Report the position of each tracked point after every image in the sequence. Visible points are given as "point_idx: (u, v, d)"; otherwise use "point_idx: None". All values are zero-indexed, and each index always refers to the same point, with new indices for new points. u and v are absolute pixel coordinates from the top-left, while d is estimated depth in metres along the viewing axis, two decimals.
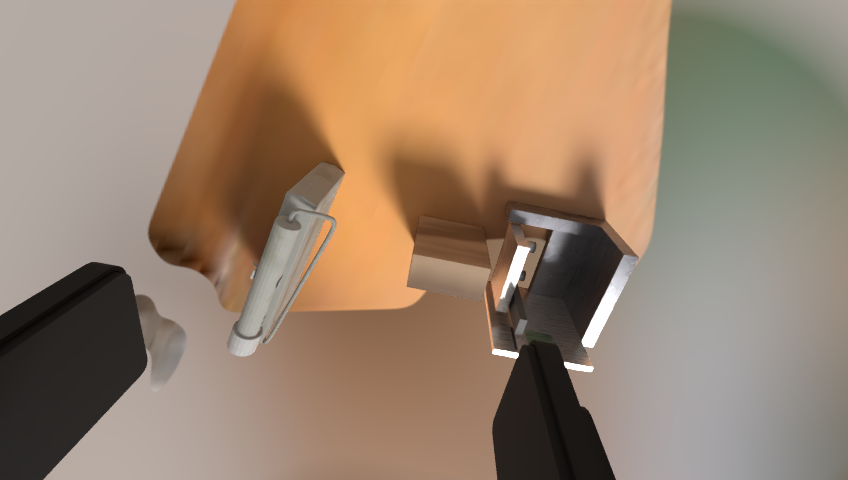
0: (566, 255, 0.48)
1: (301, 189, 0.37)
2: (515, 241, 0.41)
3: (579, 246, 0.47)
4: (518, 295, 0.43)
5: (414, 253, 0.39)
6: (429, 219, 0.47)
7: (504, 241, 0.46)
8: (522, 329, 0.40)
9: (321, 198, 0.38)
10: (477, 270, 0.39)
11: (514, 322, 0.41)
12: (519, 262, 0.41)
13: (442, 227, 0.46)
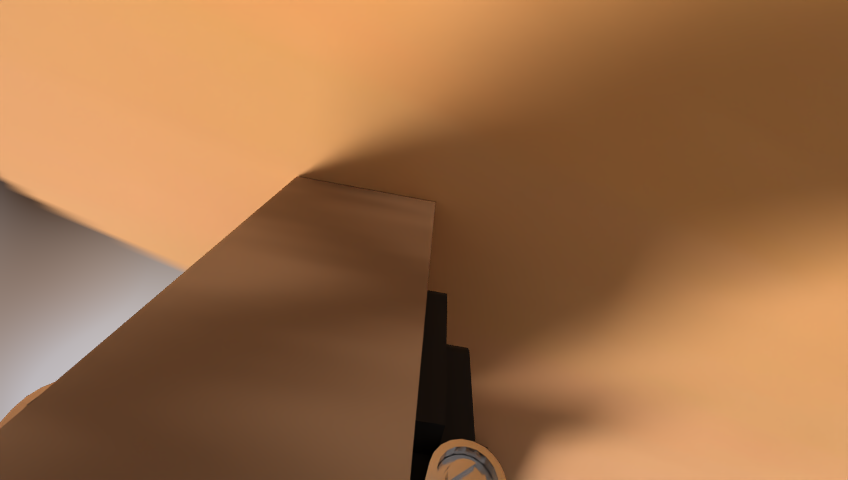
0: None
1: None
2: None
3: None
4: None
5: None
6: None
7: None
8: None
9: None
10: None
11: None
12: None
13: None
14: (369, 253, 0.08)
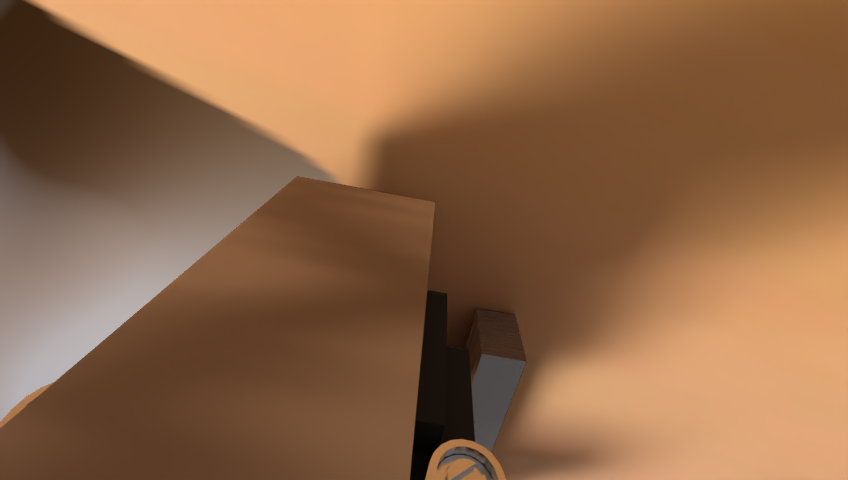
0: None
1: None
2: None
3: None
4: None
5: None
6: None
7: None
8: None
9: None
10: None
11: None
12: None
13: None
14: (369, 253, 0.08)
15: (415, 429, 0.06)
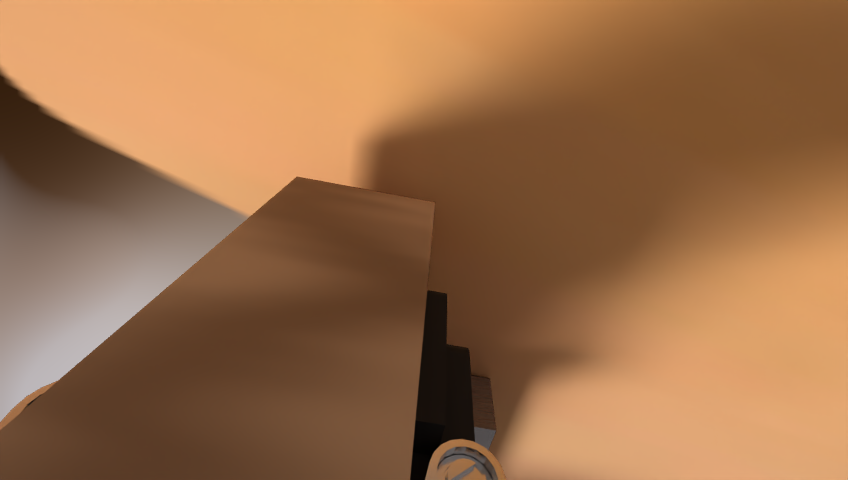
0: None
1: None
2: None
3: None
4: None
5: None
6: None
7: None
8: None
9: None
10: None
11: None
12: None
13: None
14: (369, 253, 0.08)
15: (415, 429, 0.06)
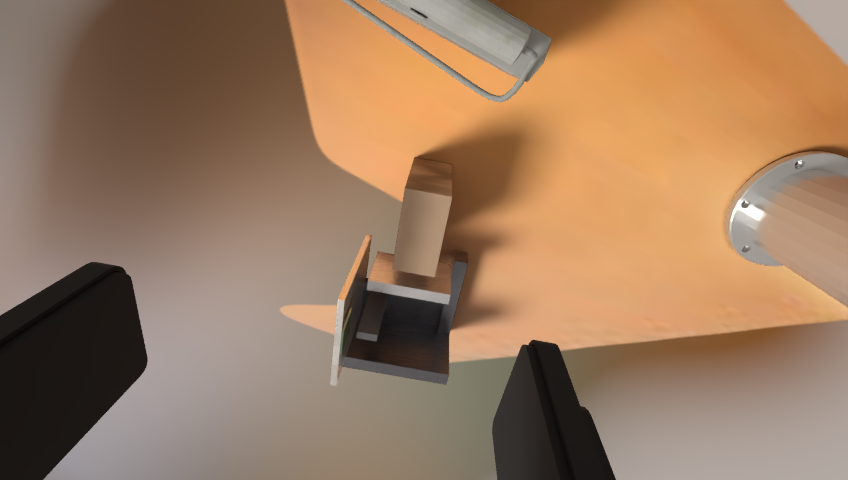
0: (412, 309, 0.48)
1: None
2: (449, 287, 0.40)
3: (422, 317, 0.49)
4: (383, 311, 0.41)
5: None
6: None
7: None
8: (364, 338, 0.37)
9: None
10: (432, 264, 0.35)
11: (365, 324, 0.38)
12: (431, 297, 0.39)
13: None
14: (439, 171, 0.38)
15: None
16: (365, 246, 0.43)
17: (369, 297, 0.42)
